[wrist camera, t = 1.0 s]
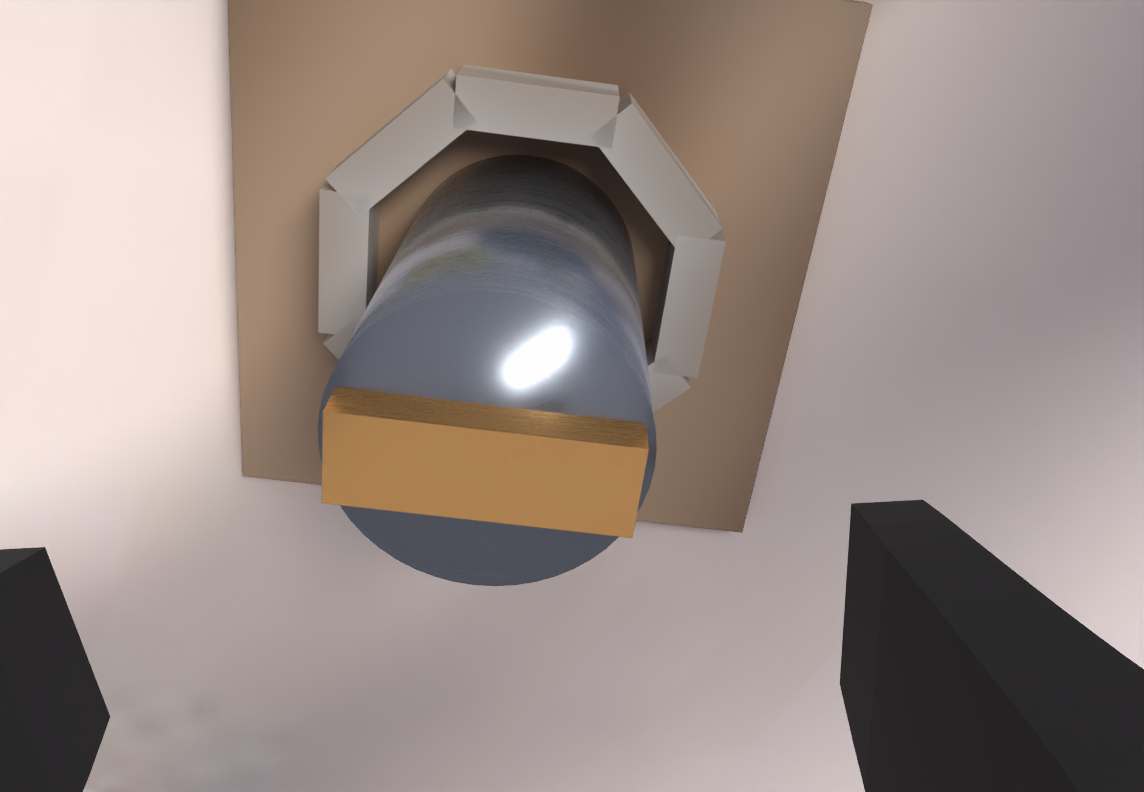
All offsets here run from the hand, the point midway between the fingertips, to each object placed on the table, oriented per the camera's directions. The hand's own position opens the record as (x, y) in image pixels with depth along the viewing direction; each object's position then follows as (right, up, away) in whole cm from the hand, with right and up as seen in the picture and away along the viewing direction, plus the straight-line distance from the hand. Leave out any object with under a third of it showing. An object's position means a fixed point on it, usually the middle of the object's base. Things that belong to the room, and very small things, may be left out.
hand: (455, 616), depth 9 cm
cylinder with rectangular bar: (0, +4, +8) cm, 9 cm away
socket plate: (0, +4, +9) cm, 10 cm away
